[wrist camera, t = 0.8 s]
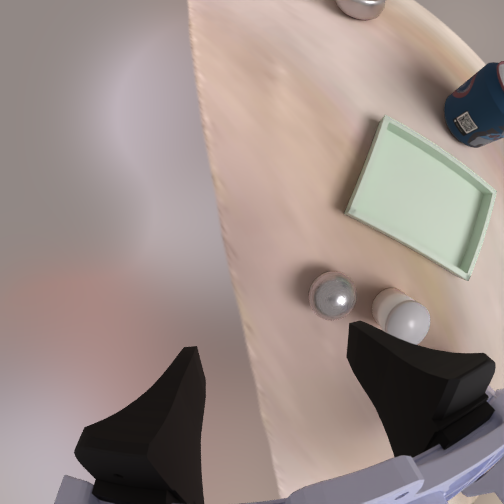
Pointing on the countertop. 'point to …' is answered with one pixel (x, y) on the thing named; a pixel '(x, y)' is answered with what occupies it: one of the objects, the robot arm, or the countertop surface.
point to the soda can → (478, 107)
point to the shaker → (401, 315)
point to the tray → (423, 198)
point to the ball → (332, 295)
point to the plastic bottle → (361, 8)
